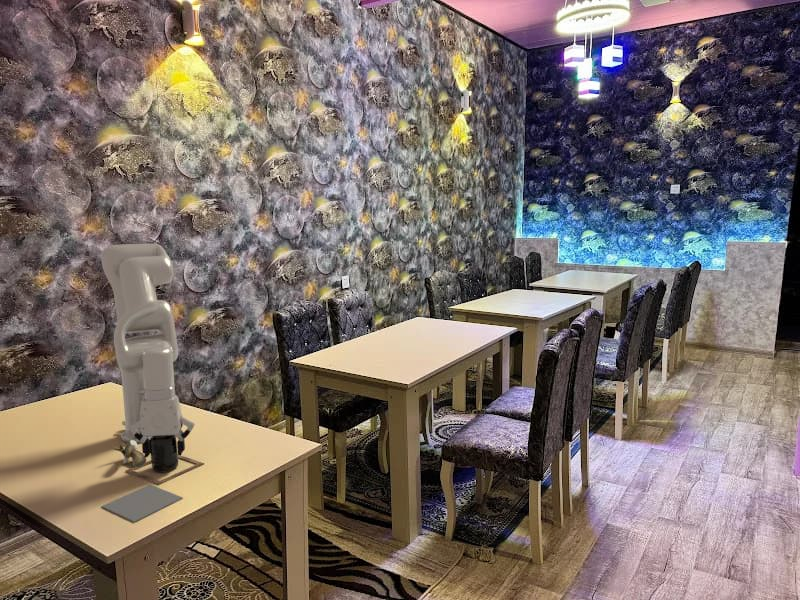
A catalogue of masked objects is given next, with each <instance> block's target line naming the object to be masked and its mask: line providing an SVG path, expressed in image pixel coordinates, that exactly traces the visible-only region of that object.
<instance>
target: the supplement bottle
mask: <svg viewBox="0 0 800 600" xmlns="http://www.w3.org/2000/svg"><path fill="white" fill-rule="evenodd" d="M177 442H178V440H177V437H176V436H175V435H169V436H152V437H151V439H150V452H151V453H150V460H151V463H150V464H151V468H152V471H154V472H155V473H169V472H168V471H170V472H172V471H174V470H173V469H175V468H177V467H179V458H178V448H177ZM171 470H172V471H171ZM175 470H176V469H175Z"/></svg>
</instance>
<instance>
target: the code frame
mask: <svg viewBox="0 0 800 600" xmlns="http://www.w3.org/2000/svg"><path fill="white" fill-rule="evenodd" d="M179 459H180V460H182V461H186V462H188V463H191V464H194V465H192V466H190V467H188V468H185V469H183V470H181V471H178V472H177V473H174V474H172V475H170V476H168V477H166V478H165V477H164V478H163V479H161V480H159V479H156V478H153V477H150V476H148V475H145V474H143V473H141V472H137V471H135V470H138V469H141V468H143V467H145V466H147V465H150V464H152V463H151V459H150V460H149V461H146V462H145V463H144V464H143V465H142V466H139V467H137V466H136V467H135V466H132V467H131V468H128V469H125V470H124V471H125V473H127V472H128V473H127V474H130V475H132V474H133V476H135V477H137V476H138V478H140V477H141V478H140V479H142V478H143V479H142V480H145V481H147V480H148V481H147V482H150V481H151V482H150V483H152V482H153V484H155V485H157V486H160V485H161V484H164V483H166V482H168V481H171V480H173V479H175V478H177V477H179V476H181V475H184V474H186V473H187V472H191V471H192V470H194V469H196V468H199V467H202V466H204V465H205V463H204V462H202V461H199V460H196V459H193V458H189V457H187V456H183V455H182V454H181V455H178V460H179ZM203 464H204V465H203ZM133 470H134V471H133ZM175 470H177V467H176V468H175V469H173V470H171V471H168V472H167V473H170V472H172V471H175Z"/></svg>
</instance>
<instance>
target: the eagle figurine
mask: <svg viewBox="0 0 800 600" xmlns="http://www.w3.org/2000/svg"><path fill="white" fill-rule="evenodd" d="M118 447H119V448H118ZM118 447H115V446H113V445H112V446H111V448H112V449H113V450H115V451H117V452H120V453H121V454H122V455H123V460H122V461H123V463H122V465H125V464H126V463H127V462H128V460H129V458H131V460H132V467H136V466H137V467H139V466H142V465H143V464H144V463H145V462H147V457H145V454H144V453H143V452H141V451H139V450H137V449H139V445H138V443H136V441H134V440H130V441H129V442H126V443H125V447H123V446H122V444H120V445H119V446H118Z"/></svg>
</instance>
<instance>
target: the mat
mask: <svg viewBox="0 0 800 600" xmlns="http://www.w3.org/2000/svg"><path fill="white" fill-rule="evenodd" d="M183 499H184V498H183V496H180V495H178V494H175V493H174V492H170V491H167V490H164V489H163V488H160V487H157V486H155V485H153V484H147V485H145V486H143V487H140V488H139V489H136V490H134V491H133V492H130V493H128V494H125V495H123V496H121V497H119V498H116V499H114V500H112V501H109V502H108V503H104V504H103V505H101V508H102V509H104V510H107V511H109V512H110V513H113V514H115V515H117V516H119V517H121V518H124V519H126V520H128V521H130V522H132V523H134V524H135V523H137V522H139V521H141V520H143V519H145V518H146V517H148V516H149V517H150V516H152V515H153V514H155V513H157V512H159V511H161V510H163V509H165V508H167V507H169V506H171V505H172V504H175V503H177V502H179V501H181V500H183Z"/></svg>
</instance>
